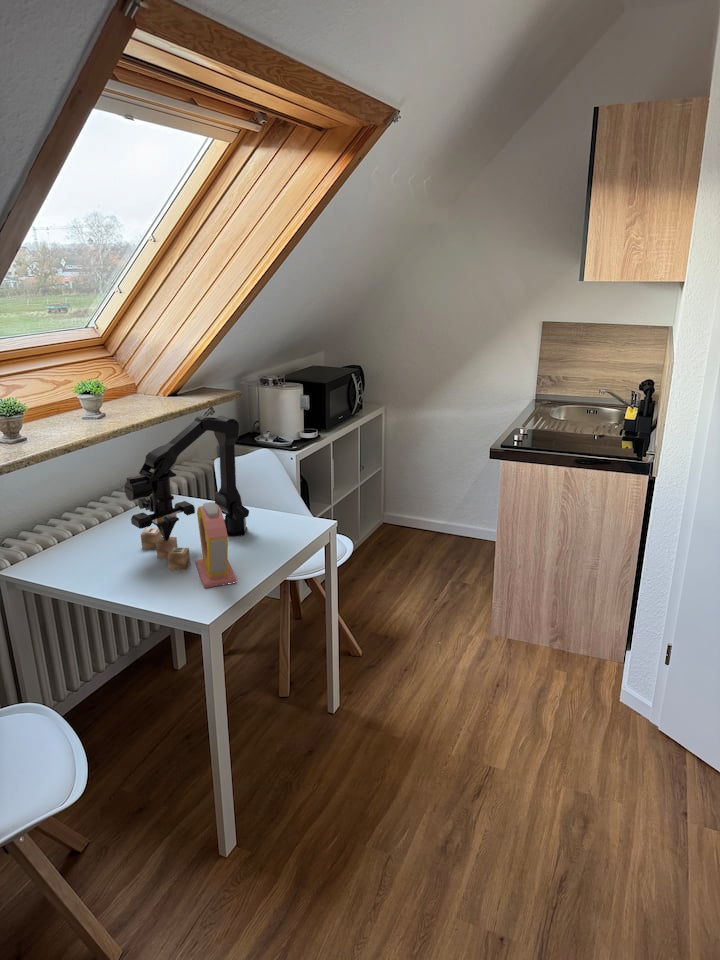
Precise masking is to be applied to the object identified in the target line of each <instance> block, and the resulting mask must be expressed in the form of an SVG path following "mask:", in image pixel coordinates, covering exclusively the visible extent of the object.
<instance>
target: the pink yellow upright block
mask: <svg viewBox="0 0 720 960" xmlns="http://www.w3.org/2000/svg"><path fill="white" fill-rule="evenodd" d="M196 511H197V513H196V515H197V521H198V522H197V523H198V524H197V525H198V531H199V539H200V546H201V547H200V548H201V556H202V558H200V559H197V560H195V565H196V568H197V569H196V570H197V571H198V574H199V577H200V580H201V583H202V586H203V588H205V589H207V588H206V587H209V588H213V587H212V586H215V587H218V586H217V585H221V586H224V585H223V584H227V585H229V584H228V583H233V582H236V581H237V582H238V579H237V577H236V574H235V572H234V570H233V568H232V565H231V563H230V562H229V558H228V557H229V552H228V551H229V550H228V548H229V543H228V542H229V541H228V540H229V536H228V535H227V530H226V525H225V521H224V519H225V517H224V515H223V513H222V511H221V509H220V507H219V506H218V505H217V504H216V503H215V501H214V502H213V501H212V502H211V501H210V502H204V503H202V505H200V506H198V508H197V510H196ZM237 582H236V583H237ZM233 584H234V583H233Z"/></svg>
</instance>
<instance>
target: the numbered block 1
mask: <svg viewBox="0 0 720 960" xmlns="http://www.w3.org/2000/svg"><path fill="white" fill-rule="evenodd" d="M160 537H163V536H162V534H161V532H160V530H159V529H158V527H157V528H156V527H153V528H152V527H151V528H149V527H146V528H144V530H143V531H142V532H141V533H140V539H141V540H140V541H141V549H142V550H148V549H151V550H153V549H154V550H156V542H157V541H158V540H159V538H160Z"/></svg>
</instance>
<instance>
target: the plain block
mask: <svg viewBox="0 0 720 960" xmlns="http://www.w3.org/2000/svg"><path fill="white" fill-rule="evenodd" d="M177 538H178V537H177V536H170V537H169V539H168V540H167V541H165V540H164V538H163V536H162V537H160V538H159V540H158V541H157V542H156V549H155V550H156V558H157V559H168V553H169V552H170V550H171V549H172V548H179V547H178V540H177Z"/></svg>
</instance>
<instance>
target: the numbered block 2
mask: <svg viewBox="0 0 720 960" xmlns="http://www.w3.org/2000/svg"><path fill="white" fill-rule="evenodd" d="M190 555H191V554H190V548H189V547H178V548H172V549H171V550H170V552H169V553H168V558H167V559H168V560H167V562H168V570H169V571H187V569H188V567H189V565H190V564H191V558H190V557H191V556H190Z"/></svg>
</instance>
